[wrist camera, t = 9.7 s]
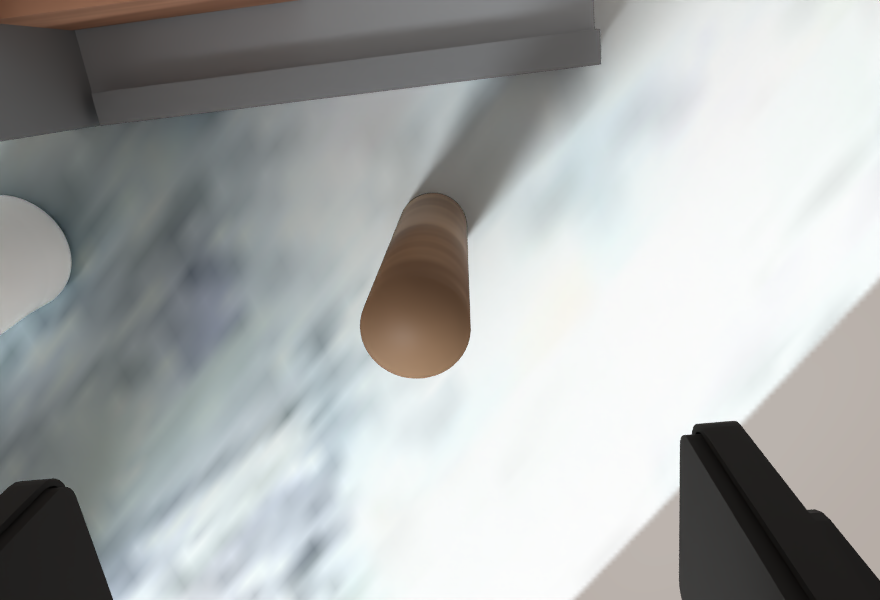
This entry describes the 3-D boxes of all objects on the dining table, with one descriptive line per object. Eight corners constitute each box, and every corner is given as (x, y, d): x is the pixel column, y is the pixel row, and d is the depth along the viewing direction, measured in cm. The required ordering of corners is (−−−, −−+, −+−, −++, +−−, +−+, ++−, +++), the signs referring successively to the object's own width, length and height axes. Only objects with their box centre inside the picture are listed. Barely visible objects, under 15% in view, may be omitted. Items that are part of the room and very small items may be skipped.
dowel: (470, 255, 29) (475, 373, 18) (404, 262, 30) (369, 383, 18) (463, 189, 28) (464, 270, 17) (395, 197, 29) (352, 281, 17)
